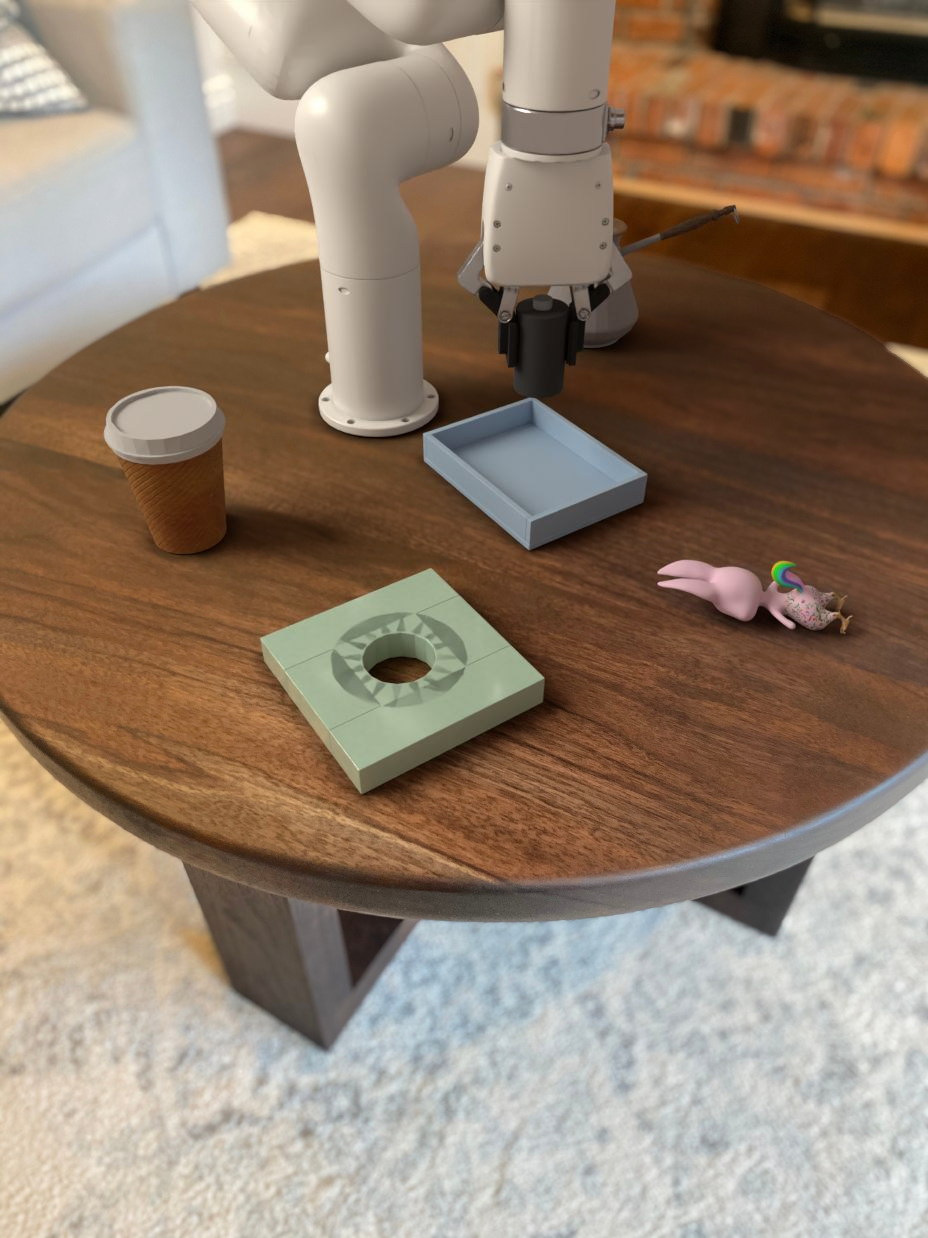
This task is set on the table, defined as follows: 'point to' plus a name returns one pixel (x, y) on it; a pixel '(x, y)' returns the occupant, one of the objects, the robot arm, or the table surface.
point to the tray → (533, 471)
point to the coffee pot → (627, 285)
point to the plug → (541, 346)
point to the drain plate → (408, 712)
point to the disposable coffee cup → (173, 463)
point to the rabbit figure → (755, 593)
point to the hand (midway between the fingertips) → (539, 357)
